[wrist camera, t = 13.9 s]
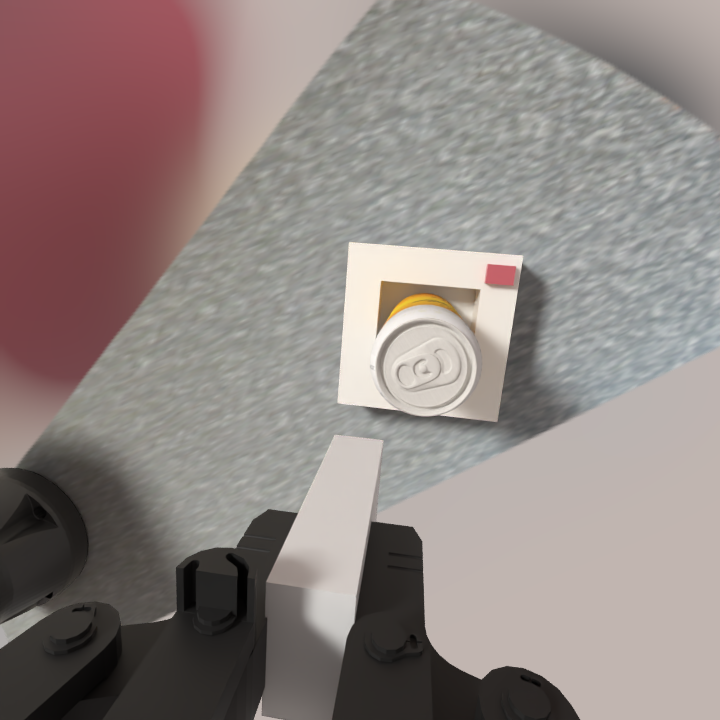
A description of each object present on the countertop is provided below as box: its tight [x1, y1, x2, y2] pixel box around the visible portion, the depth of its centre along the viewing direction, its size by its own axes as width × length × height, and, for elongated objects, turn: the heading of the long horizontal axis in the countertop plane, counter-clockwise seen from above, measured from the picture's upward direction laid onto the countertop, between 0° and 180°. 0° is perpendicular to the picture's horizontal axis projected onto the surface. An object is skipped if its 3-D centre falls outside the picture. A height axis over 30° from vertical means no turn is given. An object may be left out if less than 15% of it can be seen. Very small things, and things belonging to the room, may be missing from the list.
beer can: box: [370, 293, 482, 417], centre depth 30 cm, size 6×6×15 cm
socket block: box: [338, 242, 523, 422], centre depth 36 cm, size 13×13×4 cm
